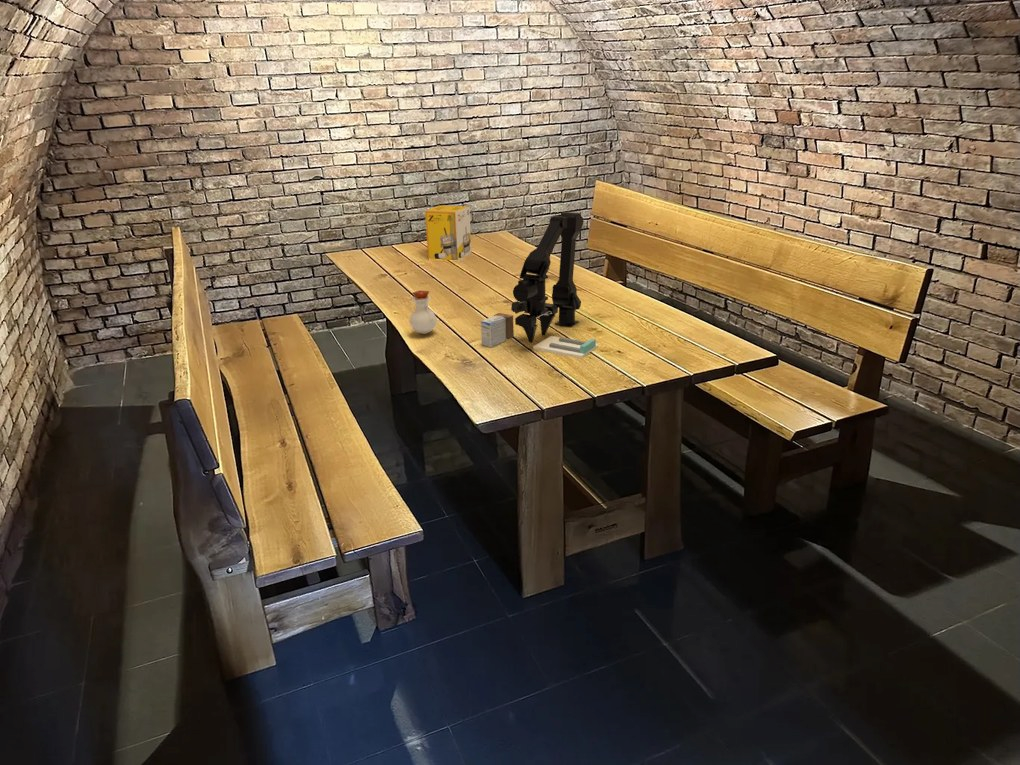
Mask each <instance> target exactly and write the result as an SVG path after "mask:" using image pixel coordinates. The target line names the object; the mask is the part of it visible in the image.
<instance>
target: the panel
mask: <svg viewBox="0 0 1020 765" xmlns="http://www.w3.org/2000/svg"><path fill="white" fill-rule="evenodd" d="M493 316H501V317H504V318H505V322H506V340H510V339H512V338H513V337H515V336H514V335H515V334H514V333H515V332H514V328H515V327H514V315H513V314H508V313H501V312H498V313H495V314H494V315H493Z"/></svg>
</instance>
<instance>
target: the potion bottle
mask: <svg viewBox="0 0 1020 765" xmlns="http://www.w3.org/2000/svg"><path fill="white" fill-rule="evenodd" d="M411 293H412V295H413V297H411V300H412V302H413V303H414V304H415V305H414V306H415V309H414V310H413V312H411V314H410V315H409V324H410V326H411V329H412V330H413V331H415V333H417V334H422V335H423V334H424V335H425V334H428V333H431V332H432V331H433V330H434V329H435V328H436V325H437V317H436V315H435V312H434V311H432V310H431V309H430V308H429V303H428V302H429V301H430V300H431V296H430V295H429V293H430V291H429V290H417V291H414V292H411Z"/></svg>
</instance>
